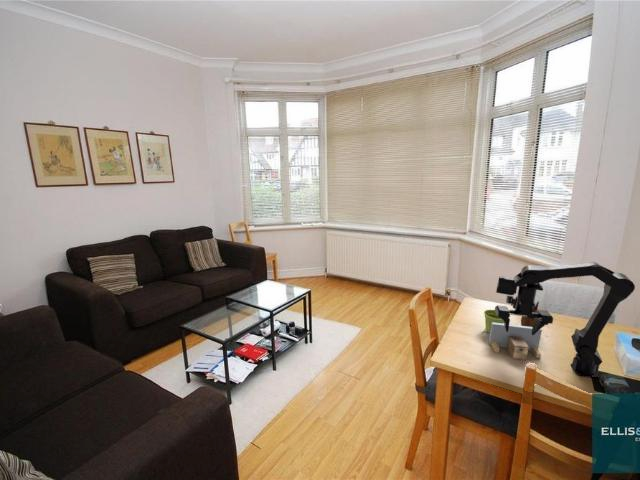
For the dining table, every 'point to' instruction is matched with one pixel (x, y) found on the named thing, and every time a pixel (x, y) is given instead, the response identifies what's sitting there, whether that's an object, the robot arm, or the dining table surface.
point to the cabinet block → (517, 348)
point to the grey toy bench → (501, 336)
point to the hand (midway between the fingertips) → (519, 333)
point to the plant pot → (491, 319)
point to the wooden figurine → (529, 318)
